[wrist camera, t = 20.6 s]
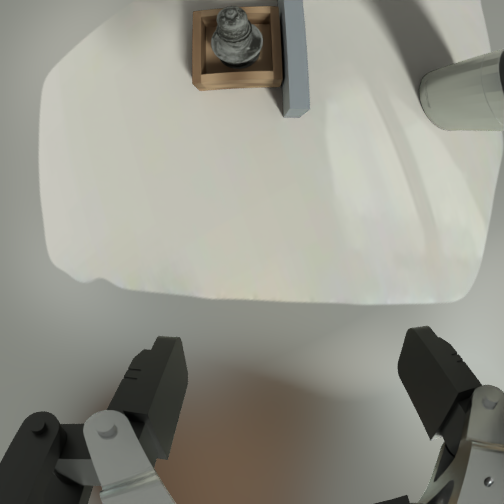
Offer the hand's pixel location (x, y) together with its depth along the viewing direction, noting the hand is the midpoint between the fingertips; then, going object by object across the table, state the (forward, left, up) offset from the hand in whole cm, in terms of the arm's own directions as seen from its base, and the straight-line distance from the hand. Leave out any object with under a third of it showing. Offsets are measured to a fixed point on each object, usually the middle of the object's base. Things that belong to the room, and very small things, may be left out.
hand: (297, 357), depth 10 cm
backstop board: (-3, -20, -30) cm, 36 cm away
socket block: (+3, -20, -30) cm, 36 cm away
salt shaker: (+3, -20, -29) cm, 35 cm away
